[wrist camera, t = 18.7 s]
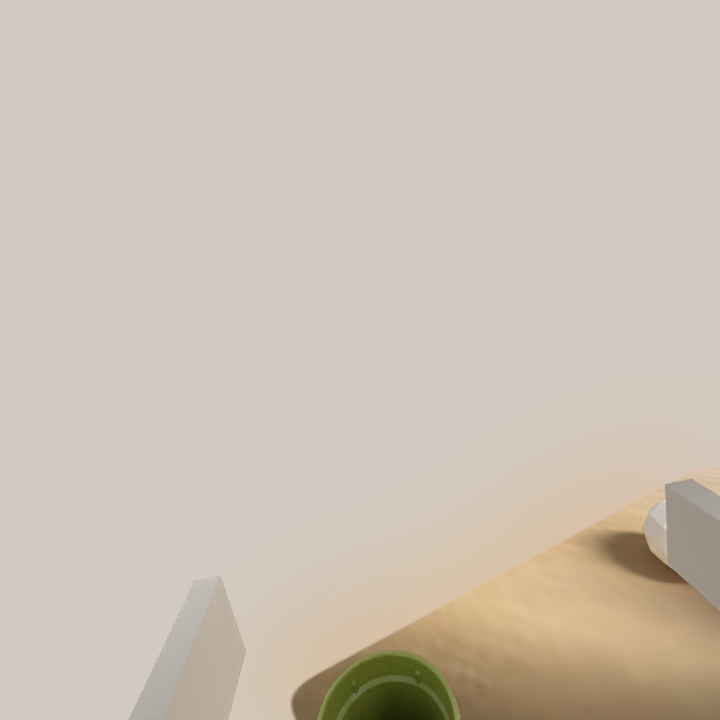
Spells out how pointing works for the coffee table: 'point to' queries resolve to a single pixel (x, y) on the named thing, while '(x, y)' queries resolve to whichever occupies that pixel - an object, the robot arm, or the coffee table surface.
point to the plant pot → (390, 690)
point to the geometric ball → (657, 531)
